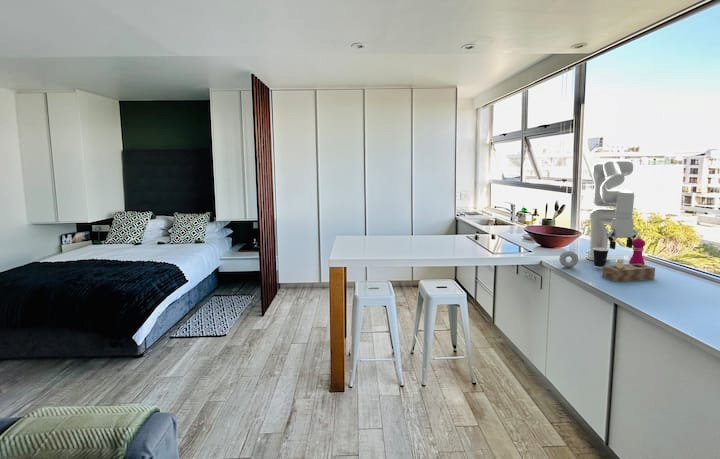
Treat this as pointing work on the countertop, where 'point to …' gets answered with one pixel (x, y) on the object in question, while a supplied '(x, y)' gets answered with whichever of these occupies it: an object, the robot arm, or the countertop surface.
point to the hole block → (628, 272)
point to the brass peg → (619, 264)
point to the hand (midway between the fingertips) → (620, 248)
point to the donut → (567, 254)
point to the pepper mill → (637, 251)
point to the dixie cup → (600, 257)
